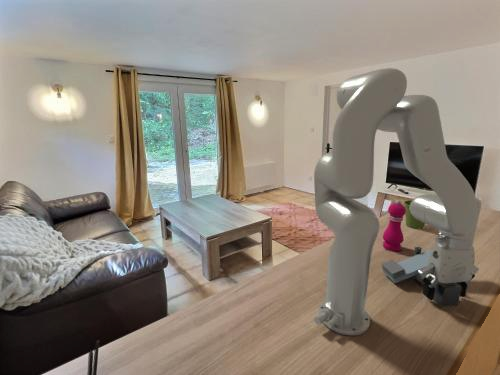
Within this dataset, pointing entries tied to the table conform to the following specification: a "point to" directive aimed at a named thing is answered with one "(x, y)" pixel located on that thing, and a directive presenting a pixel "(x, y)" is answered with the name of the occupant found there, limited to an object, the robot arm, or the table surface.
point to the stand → (417, 277)
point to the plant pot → (411, 217)
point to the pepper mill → (394, 227)
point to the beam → (406, 266)
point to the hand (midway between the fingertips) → (443, 295)
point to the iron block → (446, 294)
